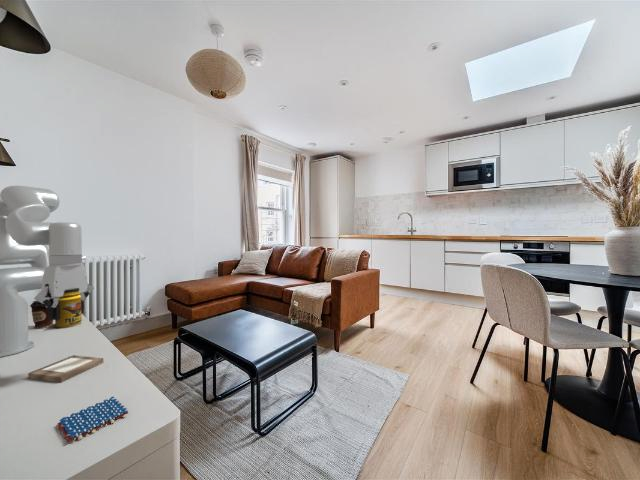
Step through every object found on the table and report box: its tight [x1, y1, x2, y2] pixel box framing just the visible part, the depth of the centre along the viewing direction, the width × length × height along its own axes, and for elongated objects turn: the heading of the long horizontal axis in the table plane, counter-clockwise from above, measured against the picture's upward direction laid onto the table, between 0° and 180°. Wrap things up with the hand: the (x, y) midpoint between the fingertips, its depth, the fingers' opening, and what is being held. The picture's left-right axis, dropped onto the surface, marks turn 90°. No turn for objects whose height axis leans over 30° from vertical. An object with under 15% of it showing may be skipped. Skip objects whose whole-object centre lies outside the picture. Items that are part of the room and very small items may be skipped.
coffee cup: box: [29, 298, 54, 329], centre depth 123 cm, size 9×8×13 cm
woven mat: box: [57, 396, 129, 445], centre depth 59 cm, size 10×11×2 cm
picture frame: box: [27, 354, 104, 383], centre depth 82 cm, size 13×12×2 cm
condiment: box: [42, 288, 86, 332], centre depth 82 cm, size 7×8×12 cm
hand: (67, 315), depth 82 cm, fingers closed on condiment, 6 cm apart
